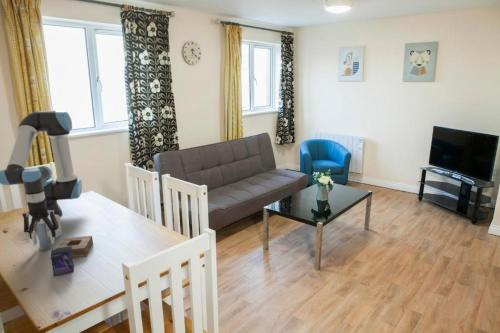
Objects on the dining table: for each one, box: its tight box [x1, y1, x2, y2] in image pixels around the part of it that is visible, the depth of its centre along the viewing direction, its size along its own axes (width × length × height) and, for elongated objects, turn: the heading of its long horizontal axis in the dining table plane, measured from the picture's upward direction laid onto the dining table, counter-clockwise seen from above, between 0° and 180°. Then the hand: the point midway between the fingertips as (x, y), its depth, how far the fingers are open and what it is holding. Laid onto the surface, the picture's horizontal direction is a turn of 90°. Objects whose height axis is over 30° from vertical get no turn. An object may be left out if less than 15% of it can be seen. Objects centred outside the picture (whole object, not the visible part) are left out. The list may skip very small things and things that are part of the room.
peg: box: [35, 221, 51, 252], centre depth 171 cm, size 4×4×14 cm
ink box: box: [39, 215, 63, 242], centre depth 183 cm, size 9×5×12 cm, turn 168°
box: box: [50, 246, 75, 277], centre depth 152 cm, size 8×6×11 cm
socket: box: [57, 235, 94, 260], centre depth 169 cm, size 13×13×5 cm
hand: (44, 243), depth 172 cm, fingers open, 8 cm apart
